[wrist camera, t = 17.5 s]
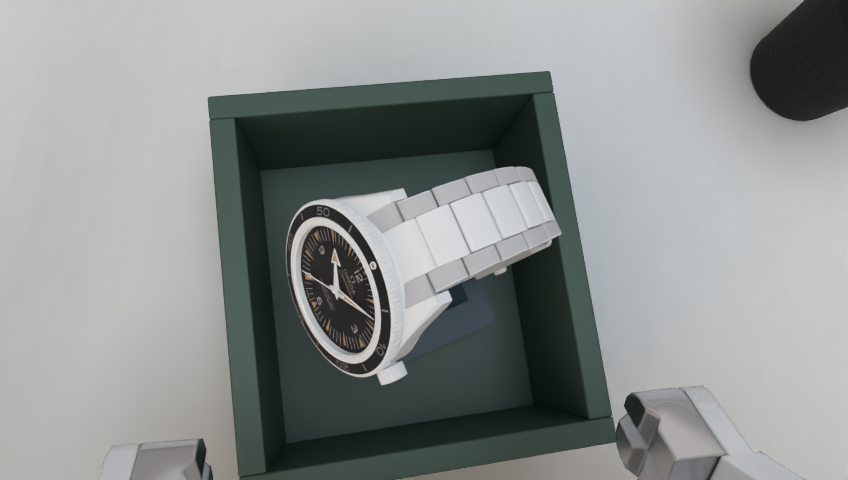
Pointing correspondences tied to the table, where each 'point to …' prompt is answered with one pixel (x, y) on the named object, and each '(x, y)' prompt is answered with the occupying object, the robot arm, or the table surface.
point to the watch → (409, 265)
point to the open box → (438, 368)
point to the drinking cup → (805, 61)
